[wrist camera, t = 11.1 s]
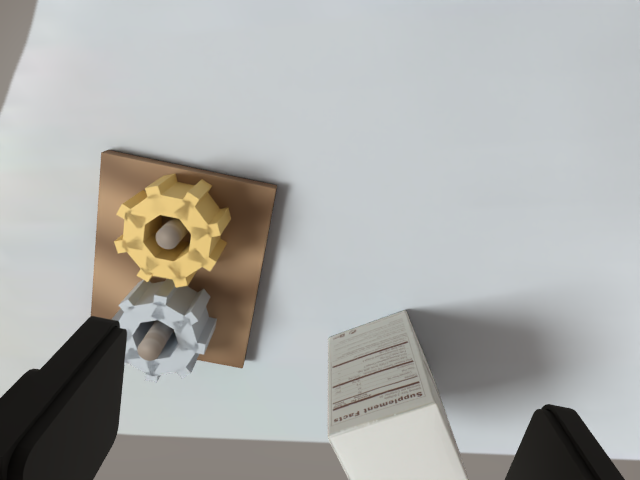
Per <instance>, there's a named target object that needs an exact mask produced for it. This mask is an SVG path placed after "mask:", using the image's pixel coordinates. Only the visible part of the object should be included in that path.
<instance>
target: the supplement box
mask: <svg viewBox="0 0 640 480" xmlns="http://www.w3.org/2000/svg"><path fill="white" fill-rule="evenodd" d="M328 439H329V442H330V443H331V445H332V447H333V449H334V451H335V453H336V455H337V457H338V459H339V461H340V463H341V465H342V467H343V469H344V471H345V473H346V475H347V477H348V479H349V480H469V479H468V476H467V473H466V470H465V467H464V464H463V461H462V458H461V455H460V452H459V449H458V447H457V444H456V441H455V438H454V435H453V432H452V429H451V426H450V424H449V421H448V418H447V415H446V412H445V409H444V406H443V404H442V401H441V398H440V395H439V392H438V389H437V386H436V384H435V381H434V378H433V375H432V373H431V371H430V368H429V366H428V363H427V361H426V358H425V356H424V353H423V351H422V348H421V346H420V343H419V341H418V339H417V336H416V334H415V331H414V329H413V326H412V324H411V321H410V319H409V316H408V314H407V311H406V310H404V311H401V312H398V313H395V314H392V315H389V316H387V317H384V318H381V319H378V320H375V321H373V322H370V323H367V324H364V325H361V326H359V327H356V328H353V329H350V330H347V331H345V332H342V333H339V334H336V335H334V336H331V337H329V338H328Z"/></svg>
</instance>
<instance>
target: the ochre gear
mask: <svg viewBox="0 0 640 480" xmlns="http://www.w3.org/2000/svg"><path fill="white" fill-rule="evenodd" d="M211 187H212V185H210V184H209V183H207V182H206V181H204V180H203V179H202V180H200V181H199V182H198V183H197V184H196V185H190V184H186V183H181V182H178V181H177V178H176V174H170V175H165V176H162V177H161V178H159V179H158V180H156V181H155V182H153V183H152V184H150V185H149V186H147V187H146V188H145V190H146V192H145V191H144V190H142V191H141V192H139V193H138V194H136V195H135V196H133V197H132V198H130V199H129V200H127V201H126V202H124V203H123V204H122V205H121V207H120V208H119V210H118V212H117V214H116V215H118V216H119V217H121V218H123V219H124V231H123V235H121V236H120V237H119V238H118V239H116V240H115V241H114V243H115V246H116V249H117V252H118V253H124V252H127V253H128V254H129V255H130V256H131V258H132V259H133V260H134V261H135V263H136V264H137V265H138V266H139V267H140V271H139V272H138V274H137V276H138V277H140V278H141V279H143V280H145V281H146V282H148V281H149V280H150V279H151V278H152V277H153V276H157V277H162V278H167V279H172V280H173V281H174V284H175V287H176V288H177V287H183V286H188V284H189V283H190V281H191V280H192V278H193V277H194V275H195V274H196V272H197V270H198V269H200V268H201V267H203V268H205V269H206V270H208V271H211V269H212V268H213V266H214V265H215V263H216V262H217V260H218V258H219V257H220V255H221V253H222V251H223V250H224V248H225V246H226V244H227V242H225V241H224V240H222V239H220V237H221V234H222V232H223V231H224V229H225V228H226V226H227V225H228V223H229V221H230V220H231V216H230V212H229V208H223V209H220V208H219V207H218V205H217V204H216V203H215V201H214V200H213V199H212V197H211V196H210V195H209V193H208V192H209V190H210V189H211ZM162 215H163V216H168V217H173V218H178V219H180V220H181V222H182V223H183V224H184V226H185V227H186V228H187V230H188V231H189V232H190V233H191V240H190V242H184V241H180V242H179V243H178V245H177V246H176V247H175V248H173V249H164V248H162V247H160V246H159V245H158V243H157V241H156V233H157V232H158V230H159V229H160V228H161V227H162V226H161V224H162Z"/></svg>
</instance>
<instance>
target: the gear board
mask: <svg viewBox="0 0 640 480" xmlns="http://www.w3.org/2000/svg"><path fill="white" fill-rule="evenodd" d="M170 174H176V178H177V181H178V182H181V183H186V184H190V185H196V184H197V183H198V182H199V181H200V180H202V179H203V180H204V181H206V182H207V183H209V184H210V185H212V187H211V189H210V190H209V192H208V193H209V195H210V196H211V197H212V199H213V200H214V201H215V203H216V204H217V205H218V207H219V208H220V209H223V208H229V212H230V216H231V220H230V221H229V223H228V225H227V226H226V228H225V229H224V231H223V232H222V234H221V237H220V239H222V240H224V241H225V242H227V244H226V246H225V248H224V250H223V251H222V253H221V255H220V257H219V258H218V260H217V262H216V263H215V265H214V266H213V268H212V269H211V271H208V270H206V269H205V268H203V267H201V268H200V269H198V270H197V272H196V274H195V275H194V277H193V278H192V280H191V281H190V283H189V284H188V287H190V288H191V289H193V290H195V291H196V292H199V291H201V290H202V289H205V290H206V292H207V293H208V294H209V295H210V299H209V301H208V303H207V305H206V308H207V311H208V315H209V317H211V318H216V319H217V321H216V327H215V330H214V332H213V335H212V337H211V339H210V342H209V344H208V346H207V349H206V351H205V353H204V355H203V354H199V356H198V358H197V360H201V361H206V362H211V363H217V364H222V365H227V366H233V367H238V368H243V365H244V361H245V356H246V351H247V345H248V340H249V335H250V329H251V324H252V318H253V313H254V308H255V302H256V297H257V292H258V286H259V281H260V276H261V270H262V265H263V259H264V254H265V249H266V243H267V238H268V233H269V227H270V222H271V217H272V211H273V206H274V200H275V195H276V190H277V185H273V184H269V183H264V182H259V181H254V180H250V179H245V178H240V177H235V176H230V175H226V174H221V173H216V172H211V171H207V170H202V169H197V168H192V167H188V166H183V165H178V164H173V163H168V162H164V161H159V160H154V159H149V158H145V157H140V156H135V155H130V154H125V153H121V152H116V151H111V150H107V151H104V152H101V167H100V183H99V198H98V214H97V229H96V245H95V260H94V276H93V292H92V307H91V316H96V317H101V318H106V319H112V318H113V317H114V316H115V315H116V313H117V312H118V311H119V310H120V309H121V308H120V307H119V306H118V305H119V304H120V303H121V302H122V301H123V300H124V298H125V297H126V296H127V295H128V294H129V293H130V292H131V290H132V289H133V288H134V287H135V286H136V285H137V284H138V283H139V282H140V281H142V280H143V279H141V278H140V277H138V276H137V274H138V272H139V271H140V267H139V266H138V265H137V264H136V263H135V261H134V260H133V259H132V258H131V256H130V255H129V254H128V253H127V252H124V253H118V252H117V249H116V246H115V243H114V241H115V240H116V239H118V238H119V237H120V236H121V235H123V231H124V219H123V218H121V217H119V216H118V215H116V214H117V212H118V210H119V208H120V207H121V205H122V204H123V203H124V202H126V201H127V200H129V199H130V198H132V197H133V196H135V195H136V194H138V193H139V192H141V191H142V190H144V191H145V192H146V190H145V188H146V187H147V186H149V185H150V184H152V183H153V182H155V181H156V180H158V179H159V178H161V177H162V176H165V175H170ZM161 226H162V227H161V228H160V229H159V230H158V232H157V233H156V241H157V243H158V245H159V246H160V247H162V248H164V249H173V248H175V247H176V246H177V245H178V243H179V242H180V241H184V242H190V240H191V233H190V232H189V231H188V230H187V228H186V227H185V226H184V224H183V223H182V222H181V220H180V219H178V218H173V217H168V216H163V215H162V224H161ZM166 279H167V278H162V277H157V276H153V277H152V278H151V279H150V282H151V283H157V282H163V281H165V280H166ZM173 332H174V329H173V328H171V327H169V326H167V325H166V324H164V323H162V322H160V321H159V320H155V321H154V324H153V325H152V327H151V328H150V330H149V331H148V333H147V334H146V336H145V337H144V338H143V340H142V341H141V343H140V344H139V346H138V349H137V351H138V354H139V356H140V357H141V358H143V359H144V360H147V361H152V360H155V359H157V358H158V357H159V355H160V353H161V352H162V350H163V348H164V346H165V345H166V343H167V341H168V340H169V338H170V336H171V334H172V333H173Z"/></svg>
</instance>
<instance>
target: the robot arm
mask: <svg viewBox="0 0 640 480" xmlns="http://www.w3.org/2000/svg"><path fill="white" fill-rule="evenodd" d="M126 342H127V330H126V329H122V328H120V323H119V321H116V320H111V319H106V318H101V317H96V316H91V317H90V318H88V319H87V321H86V322H85V323H84V324H83V325H82V326H81V327H80V328H79V329H78V330H77V331H76V332H75V333H74V334H73V335H72V336H71V337H70V338H69V340H68V341H67V342H66V343H65V344H64V345H63V346H62V347H61V348H60V349H59V350H58V351H57V352H56V353H55V354H54V355H53V356H52V358H51V359H50V360H49V361H48V362H47V363H46V364H45V365H44V366H43V367H42V368H41V369H40V370H39V369H31V370H29V371H27V372H26V373H25V374H24V375H23V376H22V377H21V378H20V379H19V380H18V381H17V382H16V383H15V384H14V385H13V386H12V387H11V388H10V389H9V390H8V391H7V392H6V393H5V394H4V395H3V396H2V397H1V398H0V480H93V479H94V477H95V475H96V473H97V472H98V470H99V468H100V466H101V465H102V463H103V461H104V459H105V457H106V456H107V454H108V452H109V450H110V449H111V447H112V445H113V443H114V441H115V438H116V435H117V431H118V425H119V415H120V404H121V394H122V384H123V373H124V363H125V352H126ZM505 480H625V479H624V478H623V477H622V475H621V474H620V472H619V471H618V470H617V468H616V467H615V465H614V464H613V463H612V461H611V460H610V458H609V457H608V456H607V454H606V453H605V451H604V450H603V449H602V447H601V446H600V444H599V443H598V442H597V440H596V439H595V437H594V436H593V435H592V433H591V432H590V430H589V429H588V428H587V426H586V425H585V423H584V422H583V421H582V419H581V418H580V416H579V415H578V414H577V412H576V411H575V410H573V409H571V408H565V407H560V406H555V405H550V404H547V405H545V406H543V407H542V409H537V410H536V411H535V412H534V414H533V416H532V418H531V421H530V423H529V425H528V427H527V430H526V432H525V434H524V437H523V439H522V441H521V444H520V446H519V448H518V450H517V453H516V455H515V457H514V460H513V462H512V464H511V467H510V469H509V471H508V473H507V476H506V478H505Z"/></svg>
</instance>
